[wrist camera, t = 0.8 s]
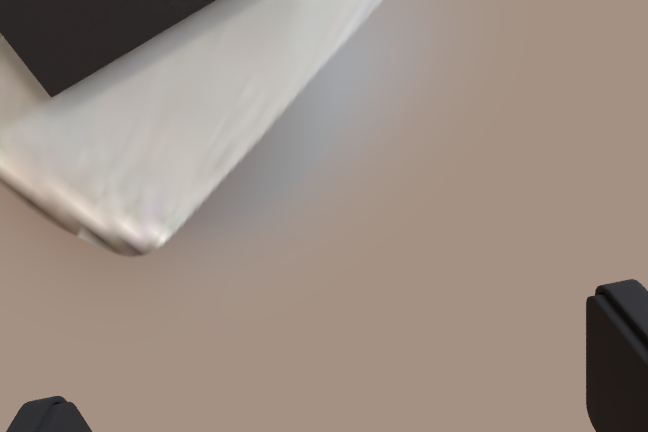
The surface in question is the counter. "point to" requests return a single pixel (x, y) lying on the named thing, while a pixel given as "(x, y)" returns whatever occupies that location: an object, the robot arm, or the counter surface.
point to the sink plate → (83, 33)
